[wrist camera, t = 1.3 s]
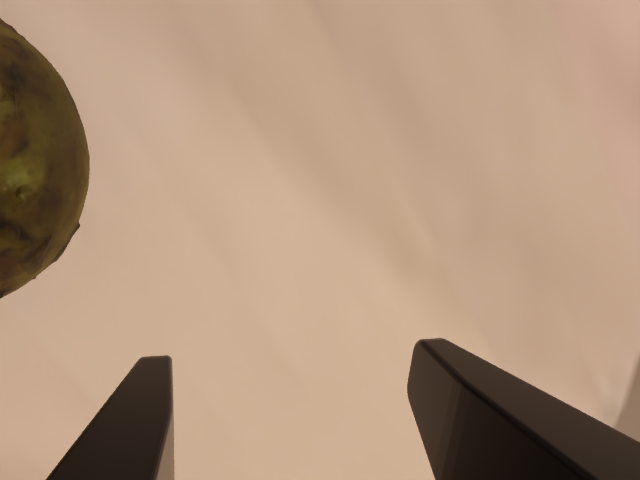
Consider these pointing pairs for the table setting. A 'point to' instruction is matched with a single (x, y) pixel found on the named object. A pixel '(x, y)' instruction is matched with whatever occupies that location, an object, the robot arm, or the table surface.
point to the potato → (36, 162)
